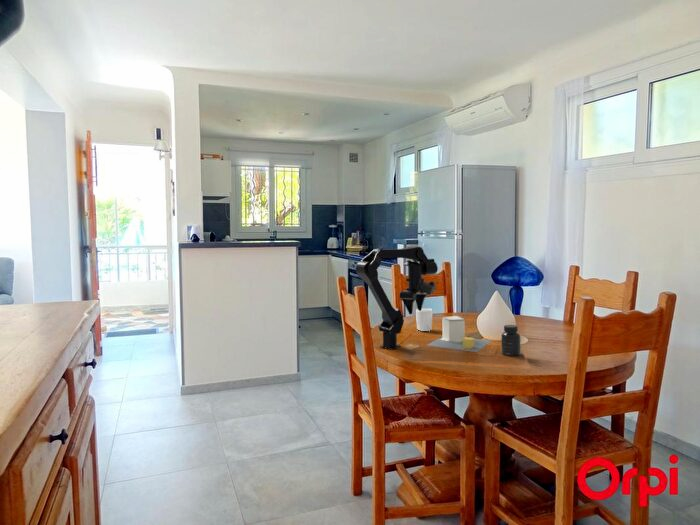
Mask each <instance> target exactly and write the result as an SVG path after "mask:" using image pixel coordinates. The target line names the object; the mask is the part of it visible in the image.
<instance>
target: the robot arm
mask: <svg viewBox="0 0 700 525" xmlns="http://www.w3.org/2000/svg"><path fill="white" fill-rule="evenodd" d="M383 259H404V260H406V262H404V263H403V266H405V267H407V270H408V271H407V274H408V275H407V276H408V277H407V278H406V282H407V283H408V284H407V285H408V287H407V288H406V289H404V290H402V291H400V292H399V296H398V297H399V299H400V300H401V301H402V302H403V304H404V306H405V308H406V310H407V311H408V314H409V315H413V311H414V310H413V309H414V302H415V303H416V306H417V307H416V308H417V309H418V310H419V311H421V309H422V308H423V305H424V303H425V302H424V301H425V299H426V298H427V296H429V295H433V294H434V292H435V290H437V288H436V287H437V286H436V283H435V282H434V281H430V282H425V278H424V277H422V276H429V275H436V274H437V272H438V271H439V270H438V269H439V268H438V264H437V263H436V261H435V259H434V258H428V256H427V255H426V254H425V252H424V249H423V247H421V246H415V245H414V246H413V245H410V246H406V247H405V246H404V247H403V248H373V250H372V251H370V252H369V253H368V254H367V255H366V256H364V257H363V258H362V259H361V260H360V261H359V262H357V263H356V265H355V269H354V271H355V273H356V274H357V275H358V276H359V278H360V279H361V280H362V281H364V283H365V284H367V287H368V289H369V290H370V292H371V294H372V295H373V297H374V299H375V301H376V303H377V305H378V306H379V308H380V310H381V318H382V321H381V322H380V324H379V325H378V330H379V332H382V344H381V345H380V346H379V348H381V347H386V348H385V349H388V348H391V349H390V350H394V348H395V349H397V348H399V347H401V344H398V335H399V334H401V332H402V328H403V325H404V322H405V320H404V317H405V316H404V315H403V314H402V312H401V309H400V308H396V307H393V305H392V303H391V301H390V300H389V298H388V296H387V294H386V292H385V290H384V288H383V287H382V284H381V282H380V281H379V271H378V268H380V266H381V263H382V261H383ZM398 346H399V347H398ZM396 347H397V348H396Z"/></svg>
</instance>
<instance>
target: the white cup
mask: <svg viewBox="0 0 700 525" xmlns="http://www.w3.org/2000/svg"><path fill="white" fill-rule="evenodd" d="M415 316H416V317H415V318H416V319H415V320H416V330H417V329H418V330H421V331H429V332H431V331H432V330H433V329H432V327H433V309H432V308H426V307H425V308H424V307H422V309H421V311H419V310H418V308H416V309H415ZM418 330H417V331H418ZM430 330H431V331H430Z"/></svg>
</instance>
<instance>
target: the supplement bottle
mask: <svg viewBox="0 0 700 525" xmlns="http://www.w3.org/2000/svg"><path fill="white" fill-rule="evenodd" d="M503 331H504V332H503V333H501V339H500V340H501V355H502V356H505V357H509V358H510V357H511V358H513V357H520V356H521V334H520V333H519V332H518V331H519V329H518V325H516V324H505V325H504V326H503Z"/></svg>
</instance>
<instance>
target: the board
mask: <svg viewBox="0 0 700 525" xmlns="http://www.w3.org/2000/svg"><path fill="white" fill-rule="evenodd" d="M491 342H492V340H489V339H481V338H480V339H479V338H475V337H467V336H465V338H463V340H460V341H448V340H446V339H444V338H442V336H441V337H439V338H437V339H435V340H433V341H431V342H430V343H428V344H427V345H426V346H428V347H435V348H442V349H448V350H449V349H450V350H457V351H458V350H459V351H468V352H475V353H478V352H479V351H481V350H482V349H484V348H485V347H486V346H487V345H488V344H490V343H491Z"/></svg>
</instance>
